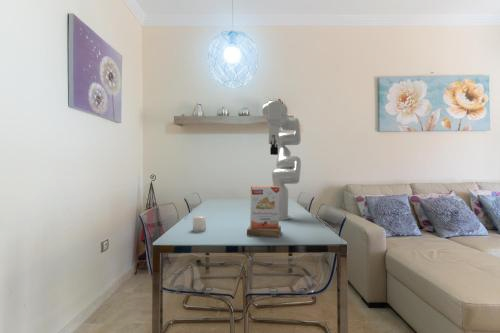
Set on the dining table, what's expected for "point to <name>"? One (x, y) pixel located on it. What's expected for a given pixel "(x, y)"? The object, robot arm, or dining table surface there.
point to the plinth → (264, 232)
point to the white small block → (199, 223)
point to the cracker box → (264, 207)
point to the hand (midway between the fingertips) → (274, 154)
